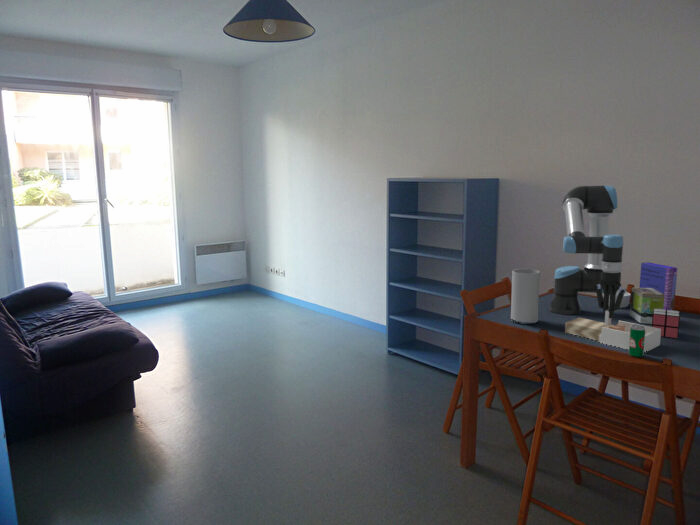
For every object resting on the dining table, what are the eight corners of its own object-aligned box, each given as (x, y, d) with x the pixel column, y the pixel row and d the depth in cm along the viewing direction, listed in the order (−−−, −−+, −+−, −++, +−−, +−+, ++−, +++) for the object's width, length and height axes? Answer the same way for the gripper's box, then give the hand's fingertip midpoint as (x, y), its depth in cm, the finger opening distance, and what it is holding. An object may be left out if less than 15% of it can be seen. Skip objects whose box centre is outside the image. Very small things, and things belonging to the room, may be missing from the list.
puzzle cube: (678, 339, 216) (680, 316, 214) (650, 335, 221) (652, 313, 219) (677, 332, 224) (679, 311, 222) (651, 329, 229) (653, 308, 228)
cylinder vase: (509, 317, 254) (511, 268, 250) (535, 318, 252) (537, 269, 247) (512, 324, 242) (513, 273, 238) (539, 325, 240) (541, 273, 235)
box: (598, 342, 213) (599, 326, 212) (616, 335, 222) (617, 320, 221) (643, 353, 199) (644, 336, 198) (659, 345, 209) (661, 328, 207)
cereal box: (673, 314, 252) (677, 267, 248) (665, 315, 251) (669, 268, 247) (645, 306, 269) (648, 262, 265) (638, 307, 268) (641, 262, 264)
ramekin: (618, 309, 263) (618, 297, 262) (596, 304, 275) (597, 292, 274) (635, 306, 269) (636, 294, 267) (614, 301, 280) (614, 289, 279)
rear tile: (611, 326, 213) (618, 328, 211) (617, 324, 217) (625, 325, 214) (610, 340, 214) (617, 342, 212) (617, 337, 218) (624, 339, 215)
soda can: (626, 353, 200) (628, 324, 198) (639, 353, 200) (641, 324, 198) (632, 357, 195) (634, 327, 193) (645, 357, 195) (648, 328, 193)
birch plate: (564, 333, 227) (565, 322, 226) (578, 327, 234) (579, 317, 233) (600, 341, 214) (600, 330, 214) (613, 335, 222) (614, 325, 221)
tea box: (663, 324, 236) (665, 294, 234) (639, 323, 238) (641, 293, 236) (650, 316, 251) (653, 287, 248) (628, 315, 253) (631, 286, 250)
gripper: (591, 270, 216) (588, 323, 220) (622, 274, 206) (619, 330, 210) (600, 268, 220) (597, 320, 224) (631, 272, 210) (627, 326, 214)
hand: (607, 324), depth 217 cm, fingers closed
